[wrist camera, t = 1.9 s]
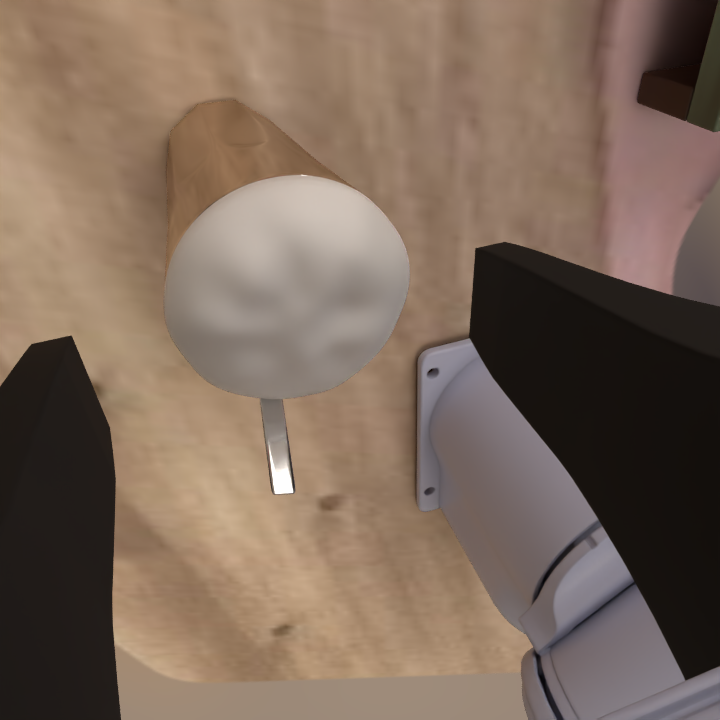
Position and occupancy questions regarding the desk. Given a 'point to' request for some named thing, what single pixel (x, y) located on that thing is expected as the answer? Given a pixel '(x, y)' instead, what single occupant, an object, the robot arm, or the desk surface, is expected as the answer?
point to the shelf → (689, 86)
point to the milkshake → (273, 267)
